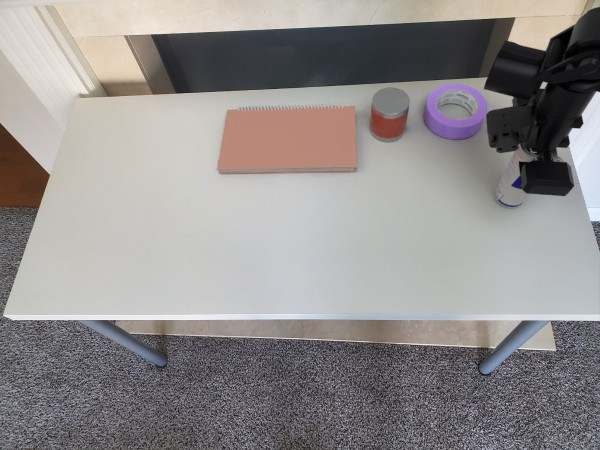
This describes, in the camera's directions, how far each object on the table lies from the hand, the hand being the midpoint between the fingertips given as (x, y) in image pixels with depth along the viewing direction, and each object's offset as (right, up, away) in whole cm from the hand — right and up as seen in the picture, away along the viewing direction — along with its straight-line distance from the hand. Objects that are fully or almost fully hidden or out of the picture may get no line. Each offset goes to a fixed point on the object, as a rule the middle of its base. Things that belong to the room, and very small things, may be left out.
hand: (521, 172), depth 74 cm
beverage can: (+1, -4, +7) cm, 8 cm away
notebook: (-39, +9, +18) cm, 44 cm away
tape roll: (-5, +13, +17) cm, 22 cm away
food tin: (-19, +11, +17) cm, 28 cm away
